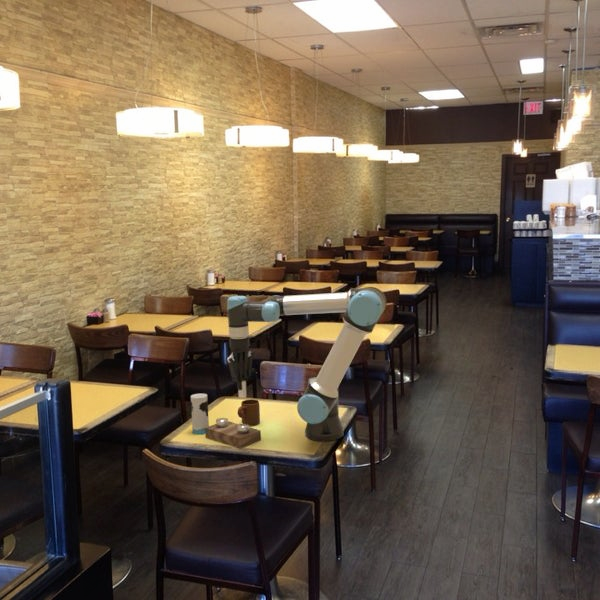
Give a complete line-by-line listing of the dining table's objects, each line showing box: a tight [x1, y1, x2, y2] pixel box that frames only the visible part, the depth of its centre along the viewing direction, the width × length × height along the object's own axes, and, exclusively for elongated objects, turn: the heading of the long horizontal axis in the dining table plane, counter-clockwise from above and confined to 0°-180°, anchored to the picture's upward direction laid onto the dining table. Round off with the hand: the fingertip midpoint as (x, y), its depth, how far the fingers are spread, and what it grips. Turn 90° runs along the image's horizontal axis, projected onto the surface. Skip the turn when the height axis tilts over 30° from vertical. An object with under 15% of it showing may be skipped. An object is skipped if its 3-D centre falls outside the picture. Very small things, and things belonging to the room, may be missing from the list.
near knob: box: [237, 423, 250, 434], centre depth 258 cm, size 5×5×6 cm
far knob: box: [215, 417, 229, 428], centre depth 266 cm, size 5×5×6 cm
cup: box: [190, 393, 210, 435], centre depth 271 cm, size 7×7×15 cm
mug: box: [237, 399, 261, 427], centre depth 278 cm, size 12×8×9 cm, turn 147°
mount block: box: [205, 420, 262, 450], centre depth 263 cm, size 20×11×4 cm, turn 49°
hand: (242, 397), depth 256 cm, fingers closed
